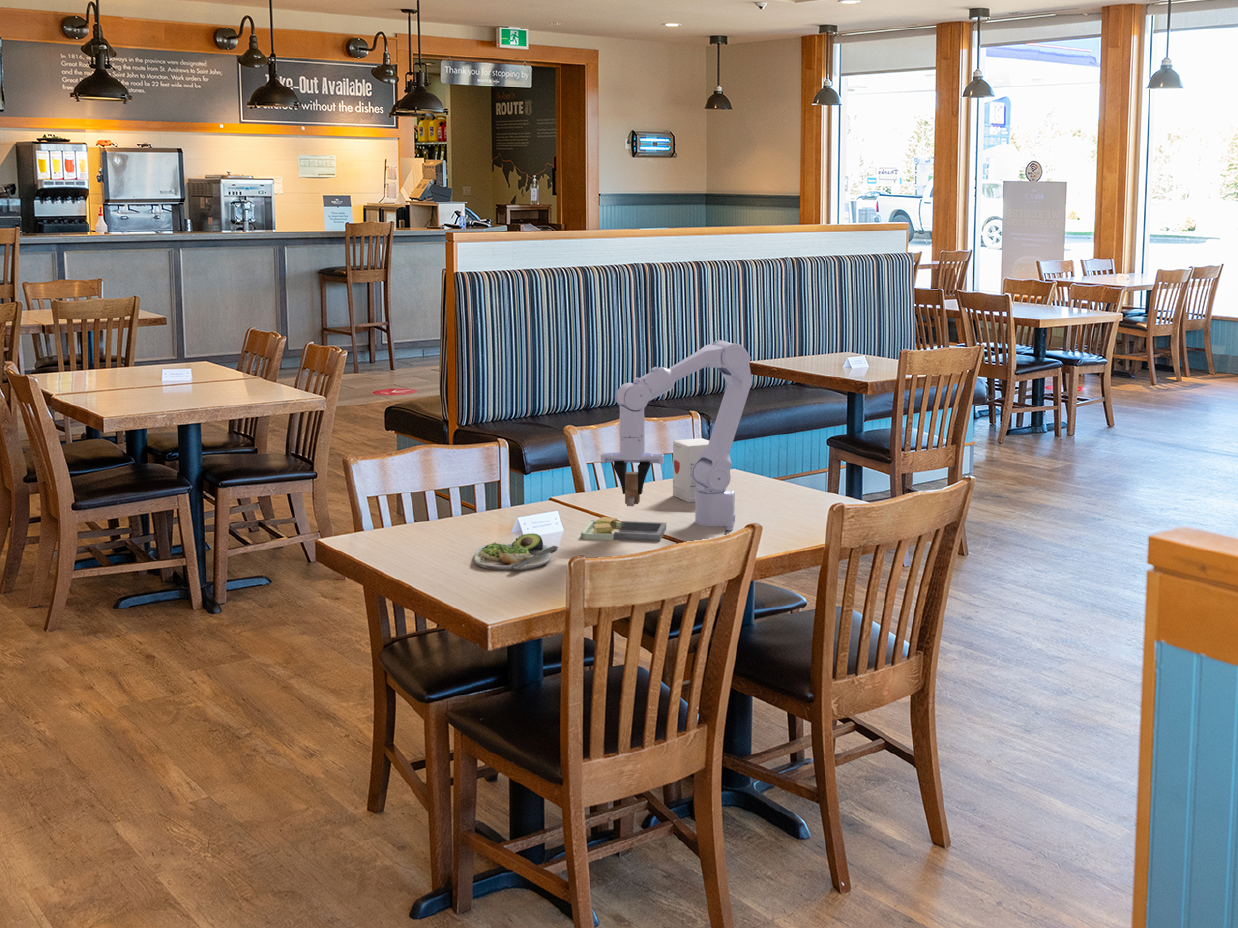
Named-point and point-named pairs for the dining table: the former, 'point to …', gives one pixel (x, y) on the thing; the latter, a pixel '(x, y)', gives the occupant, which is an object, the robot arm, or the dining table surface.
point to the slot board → (640, 531)
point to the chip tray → (600, 536)
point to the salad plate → (515, 553)
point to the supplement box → (686, 466)
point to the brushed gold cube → (608, 521)
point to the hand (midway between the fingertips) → (632, 493)
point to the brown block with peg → (631, 488)
